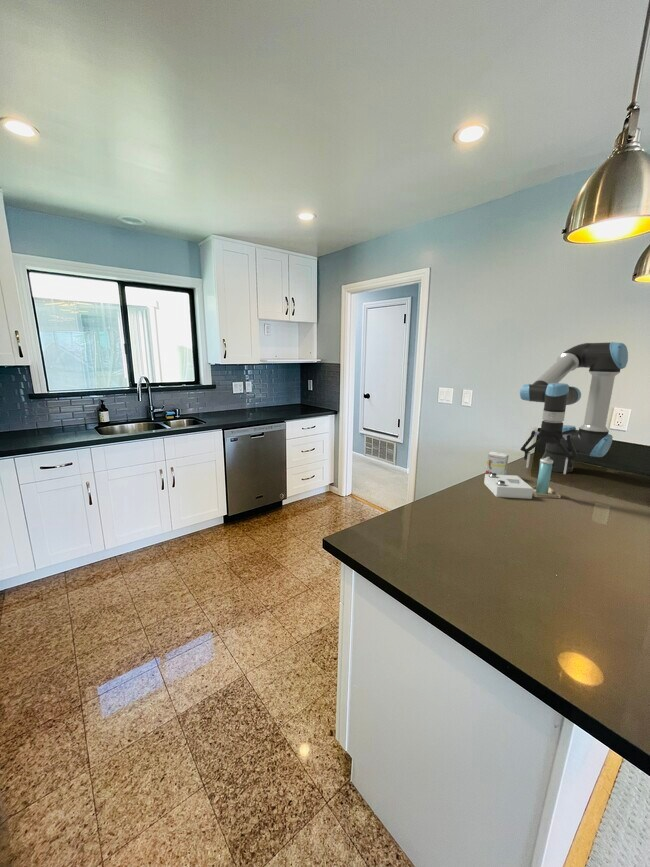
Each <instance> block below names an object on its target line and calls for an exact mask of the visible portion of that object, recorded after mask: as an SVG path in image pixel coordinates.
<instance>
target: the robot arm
mask: <svg viewBox="0 0 650 867" xmlns="http://www.w3.org/2000/svg"><path fill="white" fill-rule="evenodd" d="M628 361H629V352H628V347H627V345H626V344H625V343H624V342H616V341H615V342H613V341H612V342H585V343H580V344H577V345H575V346H572V347H571V348H567V350H564V352H562V353H560V355H559V356H558V357H557V359H556V362H554V363H553V364H552V365H551V366H550V367H549V368H548V369H547V370H546V371H545V372H544V373H543V374H541V375H540V376H539V377H538V378H537V380H535V381H534V382H533V383H532V384H531V383H528V384H527V383H526V384H523V385H522V386H521V388H520V390H519V396H520V399H521V400H523V401H526V402H527V401H528V402H533V403H534V402H536V403H544V405H543V410H542V411H543V412H542V416H541V417H542V418H541V419H542V421H541V425H540V430H539V431H536V430H535V429H533V430H532V431H531V432H530V436H529V437H528V439H526V441H525V443H524V444H523V445H522V447H521V448H520V451H521V452H524V457H523V458H524V460H526V462H525V463H526V466H525V468H526V469H528V468H529V466H530V459H531V453H532V452H531V451H532V450H533V449H534V448H536V447H537V446H539V445H540V444H542V443H544V444H545V449H544V450H545V451H544V453H543V455H542V457H541V458H546V457H550V459H552V460H553V464H552V470H551V472H555V473H563V475H566V474H567V473H572V472H573V471H574V464H573V459H577V458H578V456H579V455H578V454H580V455H585V456H589V457H596V458H603V457H604V456H605V455H606V454H607V453H608V451H609V450H610V448H611V445H612V444H613V437H614V436H613V435H611V434H609V433H610V430H609V428H607V426H606V425H607V421H608V415H609V410H610V404H611V399H612V394H613V391H614V390H613V389H614V384H615V379H616V376H617V375H618V374H620V373H621V370H623V369H625V368H626V367H627V365H628ZM578 368H586V369H589V370H588V372H589V373H590V375H591V381H590V386H589V391H588V397H587V403H586V408H585V416H584V420H583V424H582V425H580V426H579V427H578V429H577V427H576V426H575V425H567V424H566V425H565V424H564V421H565V415H566V408H567V406H570V405H574V404H576V403H578V402H579V401H580V399H581V398H582V392H581V390H580V389H579V388H578V387H577V386H571V385H570V384H568V383H564V382H563V383H562V382H561V381H562V380H563V379H564V378H565V377H566V376H567V375H568V374H569V373H570V372H572V371H575V370H576V369H578ZM537 436H539V439H538V440H536V442H534V443H532V445H530V446H529V444H530V442H532V440H533V439H534V437H537ZM528 446H529V447H528ZM538 467H540V461H539V463H538Z"/></svg>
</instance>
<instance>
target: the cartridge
mask: <svg viewBox="0 0 650 867" xmlns="http://www.w3.org/2000/svg"><path fill="white" fill-rule="evenodd" d="M539 462H540V467H539V466H538V467H539V468H538V476H537V482H536V483H537V484H536V486H537V487H536V493H537V494H548V489H549V487H550V482H551V475H552V471H551V470H552V464H553V460H552V459H550V457H546V458H542V457H541V458H540V459H539Z"/></svg>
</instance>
